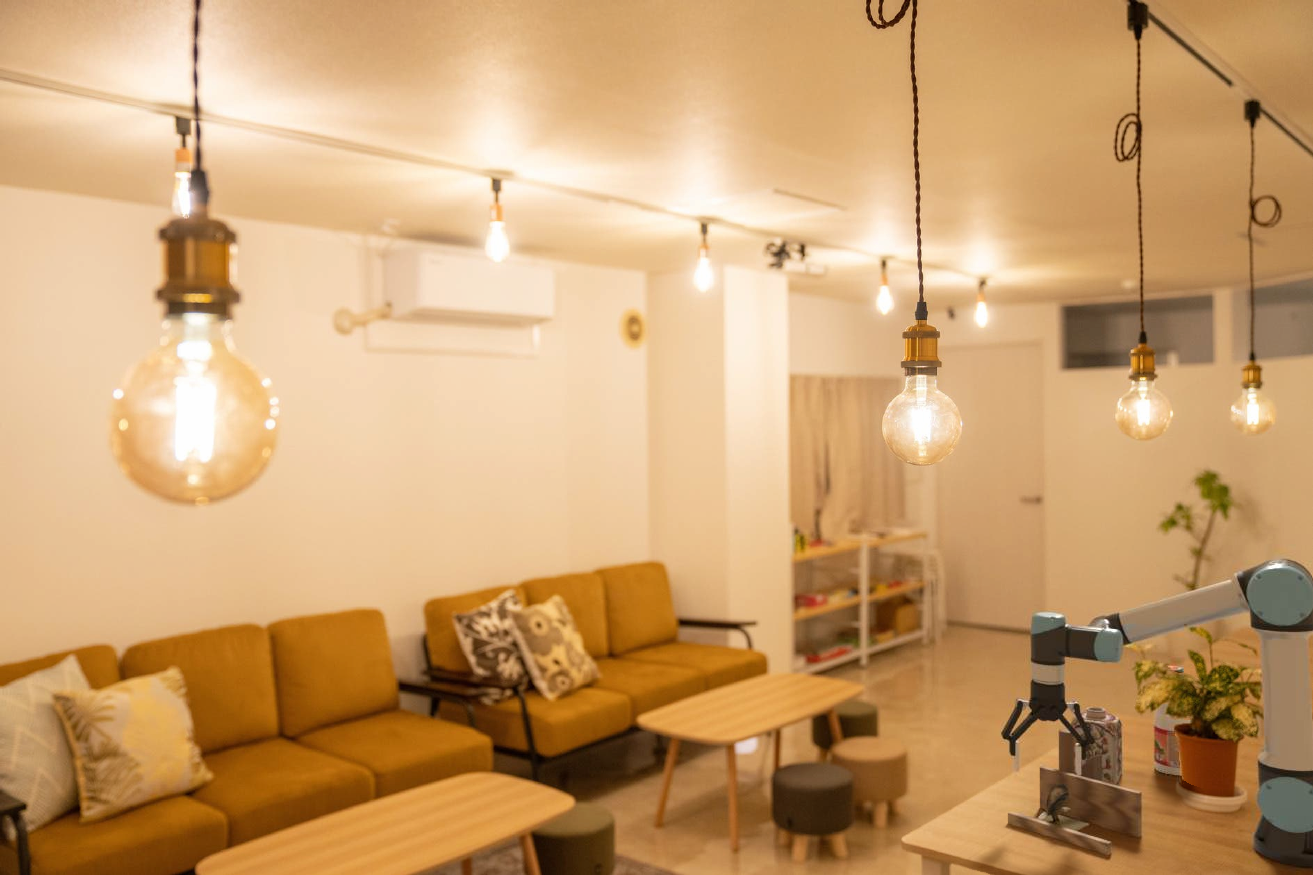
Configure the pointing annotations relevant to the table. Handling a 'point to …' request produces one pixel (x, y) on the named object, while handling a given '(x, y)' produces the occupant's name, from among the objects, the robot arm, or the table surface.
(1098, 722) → the decorative jar
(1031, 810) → the table surface
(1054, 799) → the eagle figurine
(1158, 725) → the fruit juice
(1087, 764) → the wooden block
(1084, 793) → the wall board
